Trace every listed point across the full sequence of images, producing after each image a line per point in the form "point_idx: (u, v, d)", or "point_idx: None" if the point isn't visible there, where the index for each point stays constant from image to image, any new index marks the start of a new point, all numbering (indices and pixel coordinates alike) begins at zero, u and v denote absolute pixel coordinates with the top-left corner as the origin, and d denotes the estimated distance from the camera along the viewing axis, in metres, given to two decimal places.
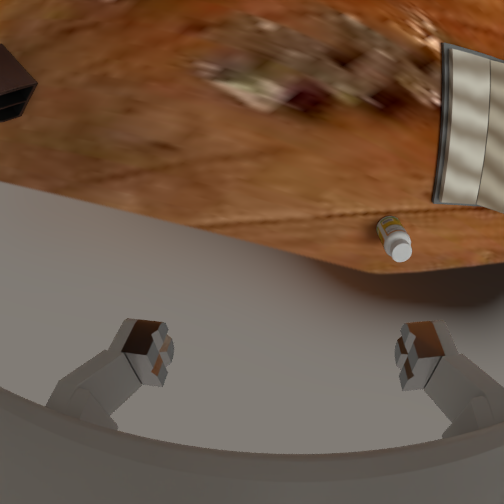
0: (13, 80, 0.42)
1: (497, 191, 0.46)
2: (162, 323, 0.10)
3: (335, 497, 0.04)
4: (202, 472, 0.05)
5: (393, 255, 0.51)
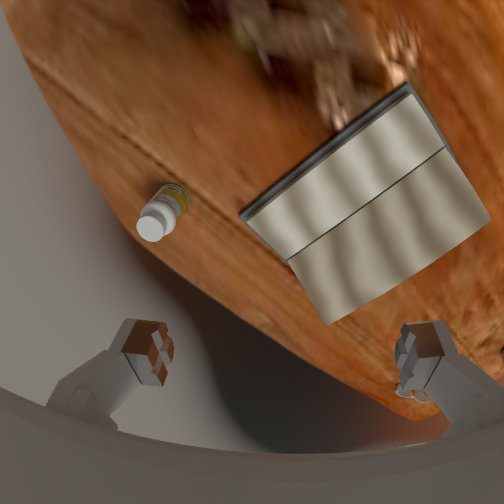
0: None
1: (321, 269, 0.47)
2: (162, 323, 0.10)
3: (335, 497, 0.04)
4: (202, 472, 0.05)
5: (138, 223, 0.40)
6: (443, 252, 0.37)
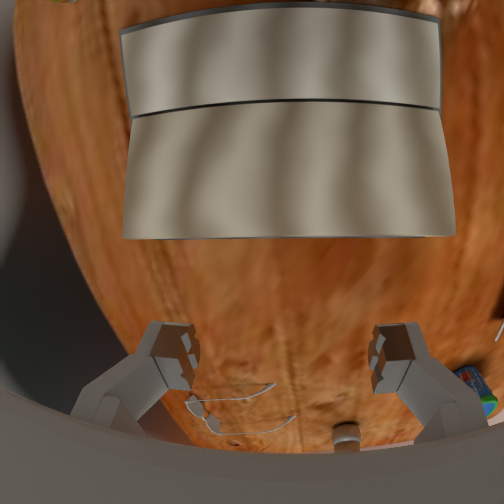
0: None
1: (166, 151, 0.27)
2: (191, 325, 0.10)
3: (335, 497, 0.04)
4: (202, 472, 0.05)
5: None
6: (363, 231, 0.24)
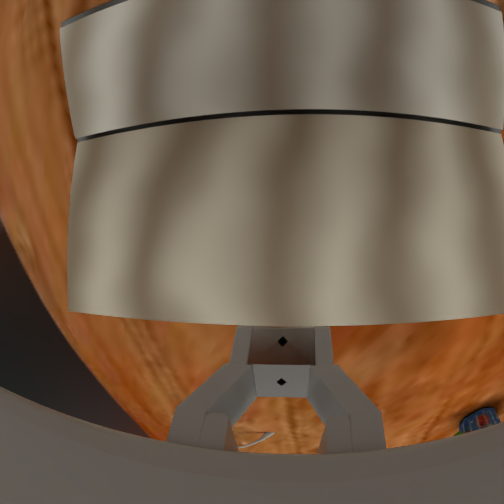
0: None
1: (116, 191, 0.18)
2: (283, 328, 0.09)
3: (335, 497, 0.04)
4: (202, 472, 0.05)
5: None
6: (400, 318, 0.16)
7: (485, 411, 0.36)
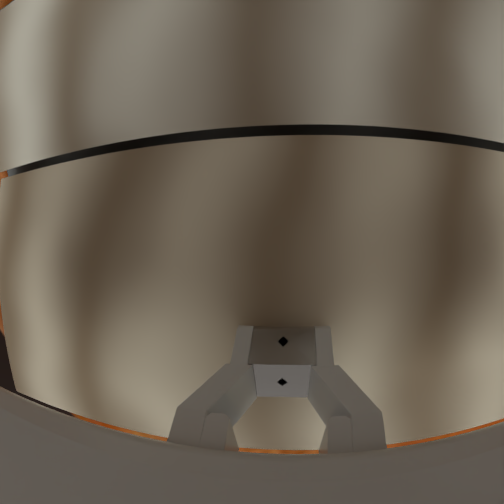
0: None
1: (42, 253, 0.12)
2: (284, 328, 0.09)
3: (335, 497, 0.04)
4: (202, 472, 0.05)
5: None
6: (426, 433, 0.10)
7: None
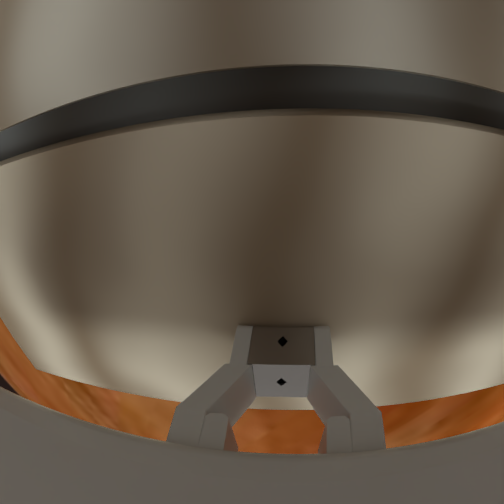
0: None
1: (12, 265, 0.10)
2: (283, 328, 0.09)
3: (335, 497, 0.04)
4: (202, 472, 0.05)
5: None
6: (414, 398, 0.12)
7: None
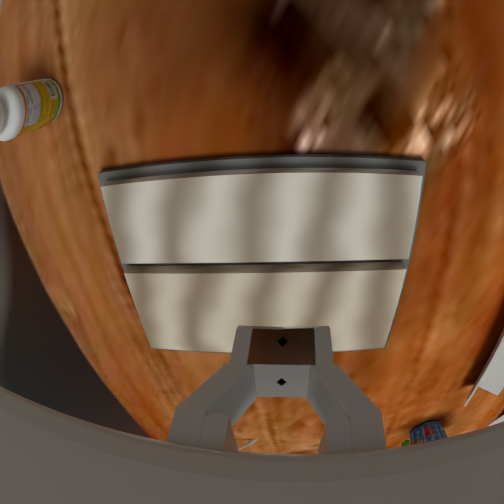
0: None
1: (166, 303, 0.34)
2: (283, 328, 0.09)
3: (335, 497, 0.04)
4: (202, 472, 0.05)
5: None
6: None
7: (430, 424, 0.51)
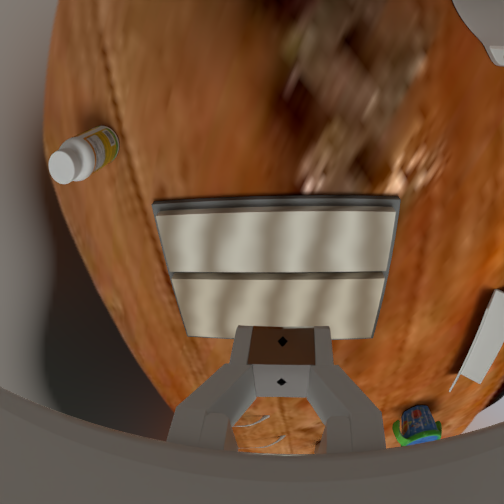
0: None
1: (203, 301, 0.46)
2: (283, 328, 0.09)
3: (335, 497, 0.04)
4: (202, 472, 0.05)
5: (54, 155, 0.28)
6: None
7: (419, 407, 0.61)
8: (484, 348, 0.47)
